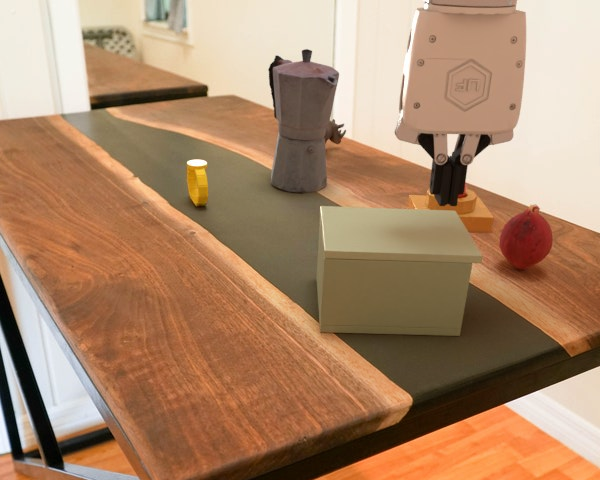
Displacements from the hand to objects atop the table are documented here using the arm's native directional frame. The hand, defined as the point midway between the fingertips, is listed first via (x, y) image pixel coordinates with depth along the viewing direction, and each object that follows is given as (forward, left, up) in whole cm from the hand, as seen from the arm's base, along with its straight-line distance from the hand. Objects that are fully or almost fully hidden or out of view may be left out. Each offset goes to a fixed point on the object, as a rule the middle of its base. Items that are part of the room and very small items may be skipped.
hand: (445, 200), depth 63 cm
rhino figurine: (+10, -57, -12) cm, 59 cm away
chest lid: (+5, 0, -4) cm, 6 cm away
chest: (+5, 0, -12) cm, 13 cm away
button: (-7, -25, -8) cm, 27 cm away
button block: (-7, -25, -12) cm, 28 cm away
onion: (-12, -10, -12) cm, 20 cm away
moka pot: (+14, -39, -12) cm, 43 cm away
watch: (+28, -29, -12) cm, 42 cm away
